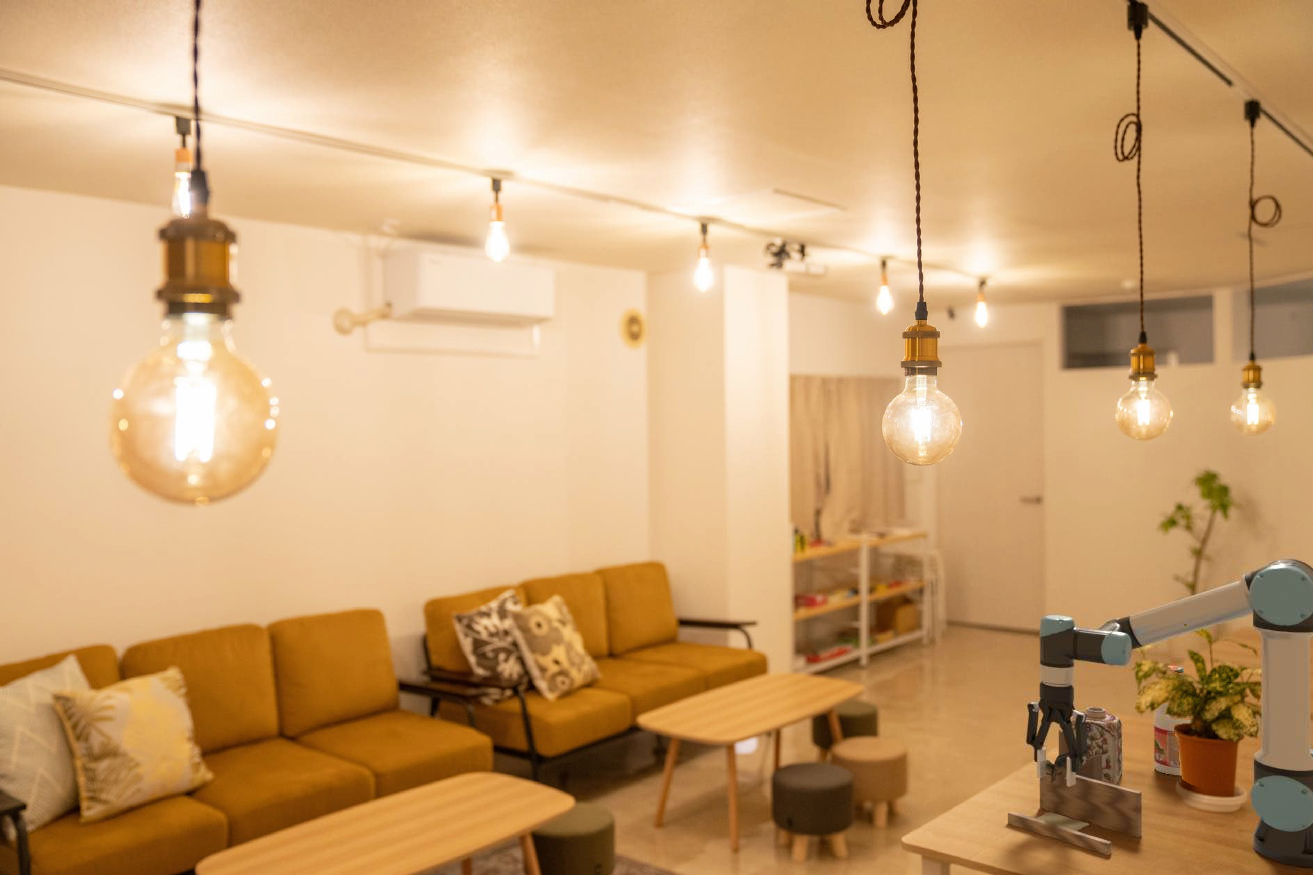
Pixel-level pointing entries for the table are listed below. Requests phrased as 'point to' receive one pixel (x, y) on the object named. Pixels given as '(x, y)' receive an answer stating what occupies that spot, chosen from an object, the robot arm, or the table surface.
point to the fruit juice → (1166, 739)
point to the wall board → (1083, 811)
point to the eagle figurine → (1058, 766)
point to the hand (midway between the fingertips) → (1056, 780)
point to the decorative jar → (1104, 742)
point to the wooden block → (1088, 769)
